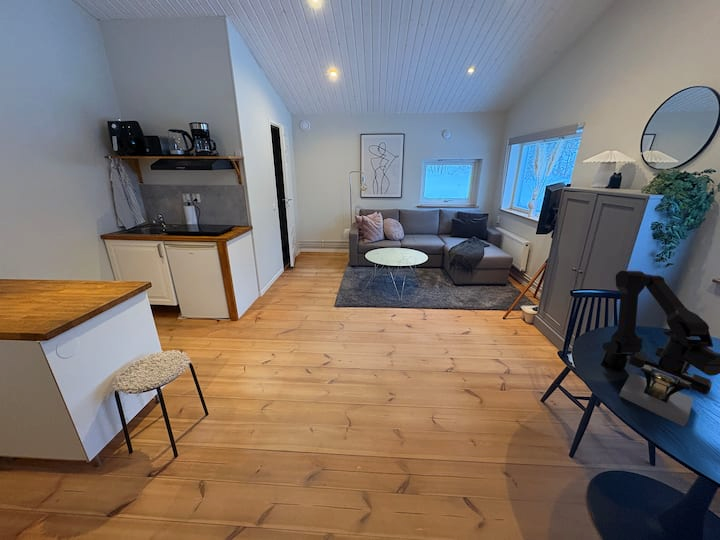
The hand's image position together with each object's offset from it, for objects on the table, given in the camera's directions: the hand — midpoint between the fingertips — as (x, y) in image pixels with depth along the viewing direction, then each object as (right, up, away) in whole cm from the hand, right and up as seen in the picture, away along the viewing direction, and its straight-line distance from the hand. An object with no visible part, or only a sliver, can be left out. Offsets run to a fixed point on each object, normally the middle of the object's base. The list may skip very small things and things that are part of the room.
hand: (657, 391), depth 99 cm
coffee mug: (+23, +2, +17) cm, 28 cm away
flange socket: (0, -4, +1) cm, 4 cm away
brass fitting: (0, -1, +1) cm, 2 cm away
